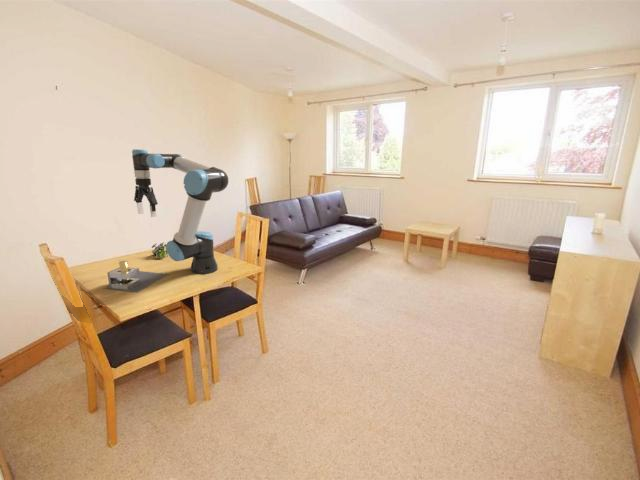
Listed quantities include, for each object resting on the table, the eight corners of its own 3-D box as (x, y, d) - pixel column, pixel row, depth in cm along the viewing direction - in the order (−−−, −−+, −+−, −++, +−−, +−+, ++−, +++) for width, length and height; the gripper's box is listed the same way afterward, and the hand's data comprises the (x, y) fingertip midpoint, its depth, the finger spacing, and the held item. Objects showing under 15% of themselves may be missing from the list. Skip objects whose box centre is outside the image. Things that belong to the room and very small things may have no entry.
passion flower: (156, 264, 207) (153, 247, 210) (173, 260, 209) (170, 243, 212) (150, 259, 196) (148, 242, 199) (169, 255, 199) (166, 238, 202)
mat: (169, 274, 176) (169, 274, 175) (137, 293, 152) (137, 292, 152) (139, 271, 178) (139, 271, 178) (103, 289, 155) (103, 288, 155)
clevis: (140, 283, 162) (138, 268, 160) (127, 290, 154) (125, 274, 151) (123, 281, 164) (121, 266, 161) (109, 288, 155) (107, 272, 153)
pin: (132, 284, 160) (128, 261, 156) (127, 287, 157) (123, 263, 153) (126, 284, 160) (122, 260, 157) (121, 286, 157) (117, 263, 153)
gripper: (161, 179, 170) (165, 217, 175) (137, 176, 183) (142, 211, 188) (148, 179, 164) (152, 219, 169) (124, 176, 177) (129, 213, 182)
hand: (147, 215), depth 179 cm, fingers open, 13 cm apart
